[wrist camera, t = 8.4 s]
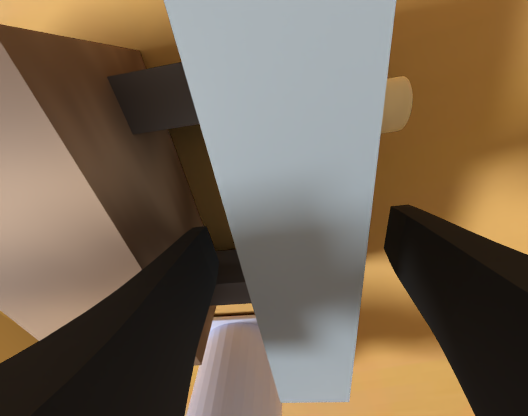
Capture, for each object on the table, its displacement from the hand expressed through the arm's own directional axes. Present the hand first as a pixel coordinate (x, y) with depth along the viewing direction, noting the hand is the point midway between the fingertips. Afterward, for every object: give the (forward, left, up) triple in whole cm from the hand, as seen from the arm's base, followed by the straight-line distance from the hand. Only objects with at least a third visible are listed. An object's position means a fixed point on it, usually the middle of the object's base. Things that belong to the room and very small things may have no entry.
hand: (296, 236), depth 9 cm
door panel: (0, 0, -5) cm, 5 cm away
